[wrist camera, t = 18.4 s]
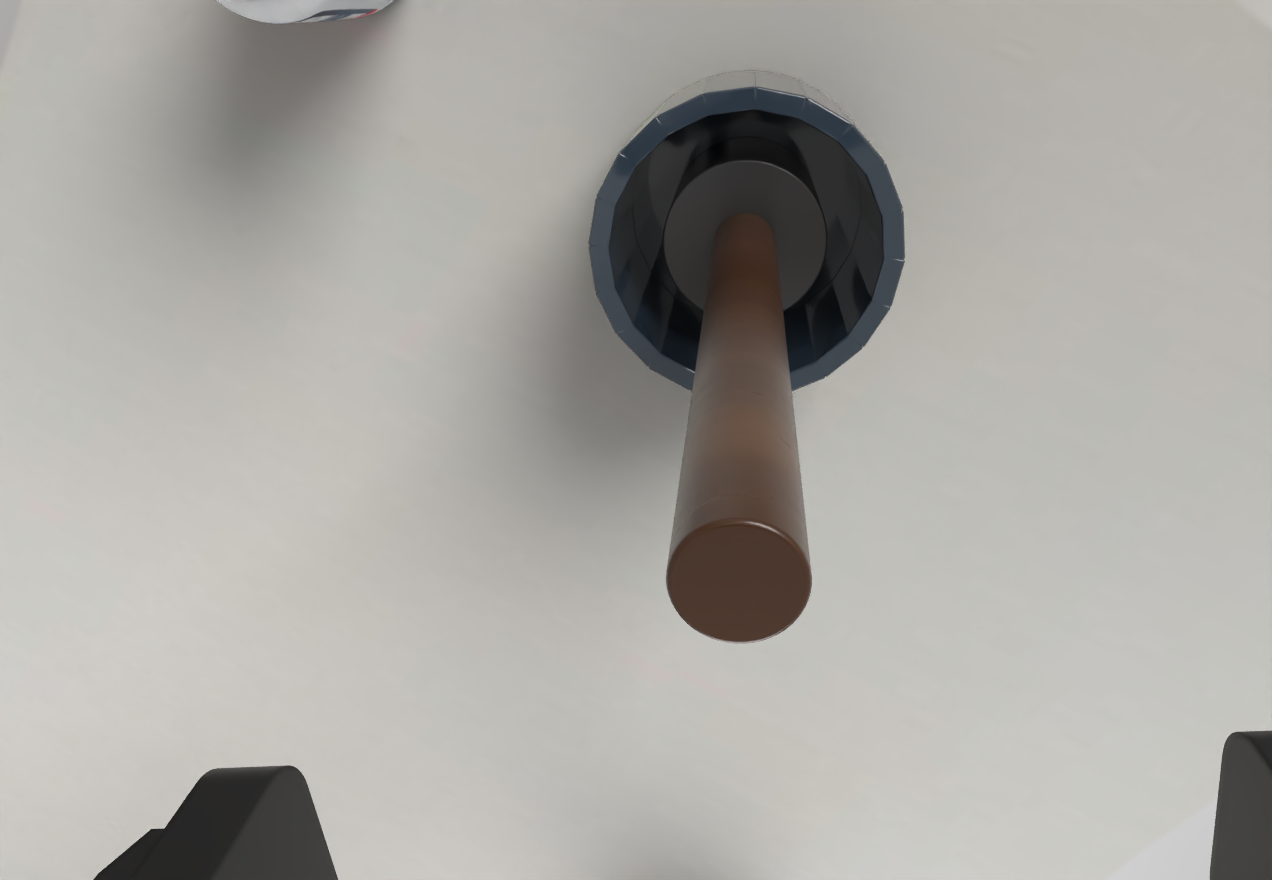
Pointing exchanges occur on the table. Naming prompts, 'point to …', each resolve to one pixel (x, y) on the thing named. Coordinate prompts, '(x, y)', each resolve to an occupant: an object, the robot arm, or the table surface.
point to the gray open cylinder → (846, 189)
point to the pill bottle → (303, 9)
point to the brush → (742, 388)
